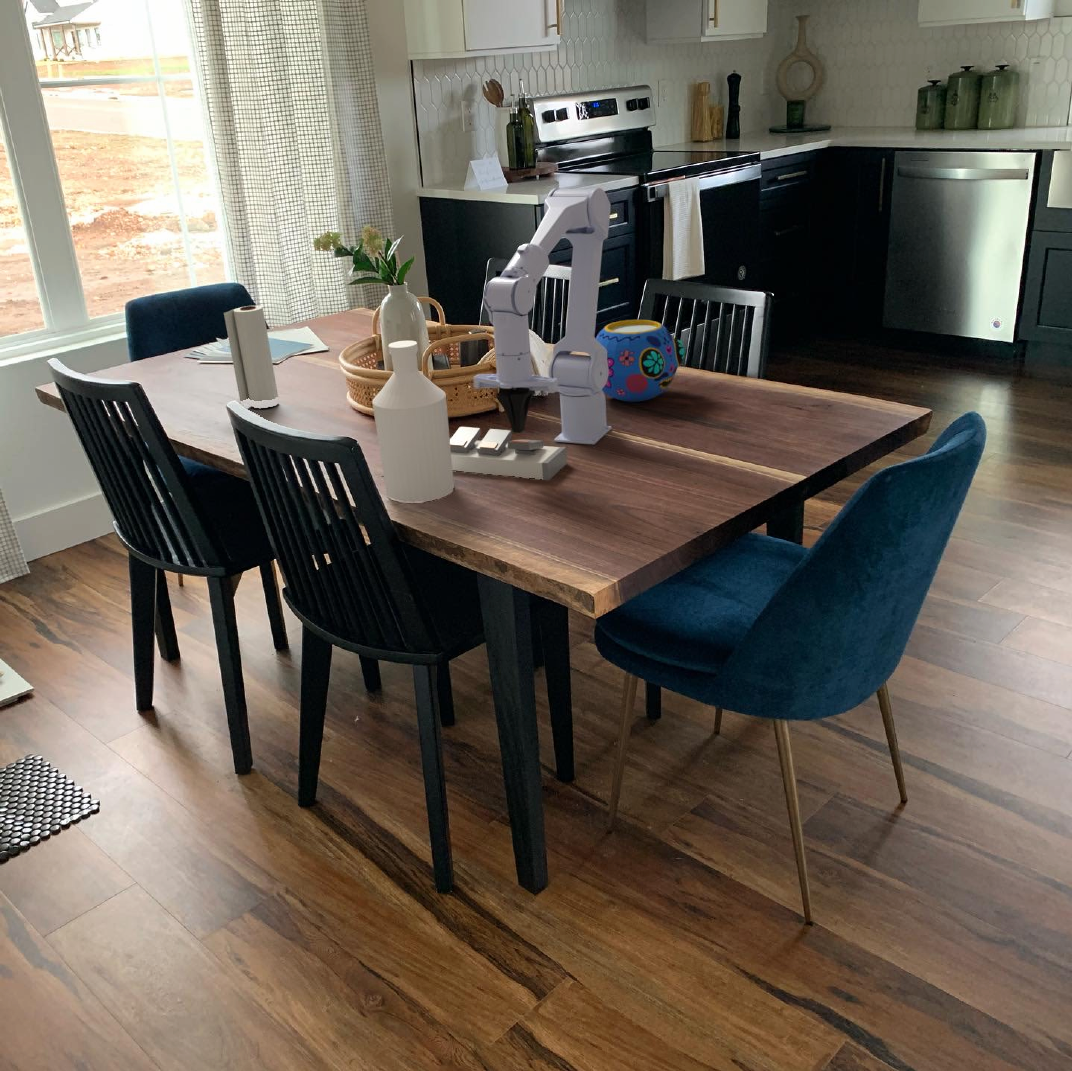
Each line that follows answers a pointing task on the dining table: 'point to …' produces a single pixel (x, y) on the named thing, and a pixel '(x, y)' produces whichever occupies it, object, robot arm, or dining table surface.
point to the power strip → (513, 462)
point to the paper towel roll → (251, 353)
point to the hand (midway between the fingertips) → (518, 430)
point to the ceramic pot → (639, 359)
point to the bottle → (413, 430)
